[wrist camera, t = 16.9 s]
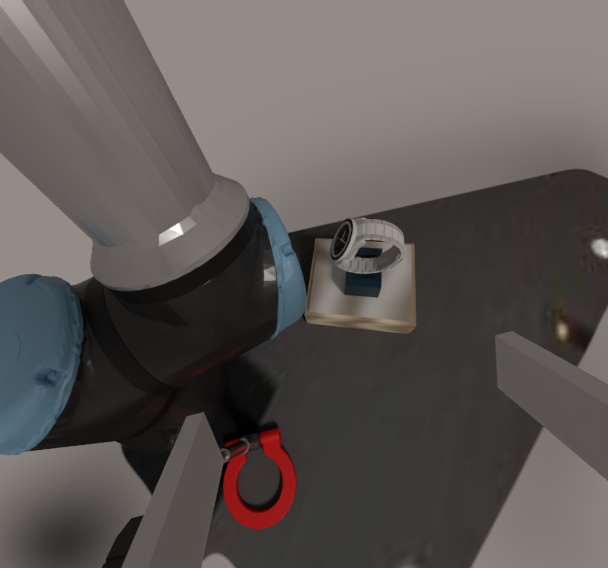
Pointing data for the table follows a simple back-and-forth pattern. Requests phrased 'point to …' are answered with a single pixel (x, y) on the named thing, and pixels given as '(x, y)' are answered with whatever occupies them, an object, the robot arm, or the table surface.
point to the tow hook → (237, 458)
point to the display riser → (357, 309)
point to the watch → (365, 254)
